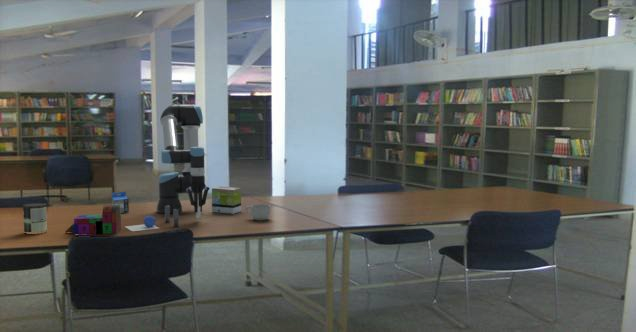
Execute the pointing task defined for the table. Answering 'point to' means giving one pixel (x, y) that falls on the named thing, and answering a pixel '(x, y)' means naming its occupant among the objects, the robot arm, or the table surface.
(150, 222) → the ball
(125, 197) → the label tape box
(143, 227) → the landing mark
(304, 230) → the table surface
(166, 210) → the gate posts
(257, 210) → the teacup
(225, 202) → the tea box
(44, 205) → the coffee can
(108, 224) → the block puzzle
